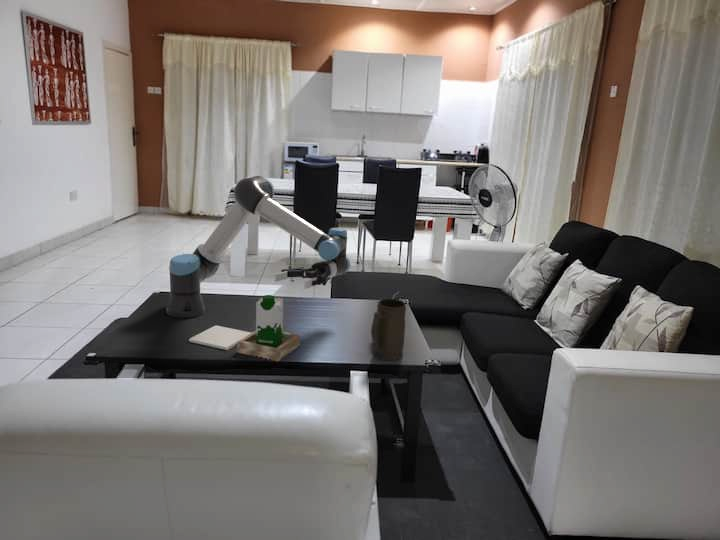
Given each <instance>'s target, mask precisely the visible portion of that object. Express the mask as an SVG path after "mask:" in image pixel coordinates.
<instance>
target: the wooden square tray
mask: <svg viewBox="0 0 720 540" xmlns="http://www.w3.org/2000/svg"><path fill="white" fill-rule="evenodd" d="M250 333H251V334H249V335H247V336H246V337H244V338H242V339H241V340H239V341H237V345H236V353H239V354H243V355H248V356H251V355H252V357H256V356H258V357H257V358H260V357H263V358H262V359H265V358H267V359H266V360H269V359H271V360H270V361H273V362H274V361H275V362H279V361H281V360H283V358H285V357H286V356H287V355H288V353H289V354H290V353H291V352H292V350H293V351H294V350H296V349H297V347H299V346H300V342H301V341H300V340H301V335H300V334H298V333H291V332H286V331H283V330H282V341H281V345H280V346H279V347H277V348H274V347H269V346H265V345H260V344H256V330H254V331H251V332H250Z"/></svg>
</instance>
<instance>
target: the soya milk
mask: <svg viewBox="0 0 720 540" xmlns="http://www.w3.org/2000/svg"><path fill="white" fill-rule="evenodd" d="M255 304H256V306H255V307H256V309H255V311H256V312H255V314H256V315H255V317H256V318H255V331H256V344H260V345H265V346H269V347H274V348H277V347H279V346H280V345H282V343H281V341H282V331H283V328H284V327H283V325H284V324H283V323H284V322H283V321H284V318H283V317H284V298H279V297H275V296H274V295H272V294H271V295H270V294H267V295H263V296H261V298H259V299H258V301H256V303H255Z"/></svg>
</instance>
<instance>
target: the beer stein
mask: <svg viewBox="0 0 720 540" xmlns="http://www.w3.org/2000/svg"><path fill="white" fill-rule="evenodd" d="M377 309H378V312H377V311H375V312H374V313H373V315H374V316H373V321H372V323H371V329H370V333H371V335H370V336H371V338H372V339H371V340H372V345H373V347H372V348H371V353H372V355H373V356H374V357H375V358H376V357H377V359H379V360H381V359H383V360H382V361H387V360H394V361H398V360H397V359H399V360H400V358H401V359H402V358H403V357H402V356H404V351H403V349H404V345H405V334H406V333H405V331H406V313H405V311H406V312H407V305H406V302H404V301H402V300H399V299H395V298H393V299H392V298H386V299H381V300H379V301H378V303H377V306H376V310H377Z"/></svg>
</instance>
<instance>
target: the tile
mask: <svg viewBox="0 0 720 540" xmlns="http://www.w3.org/2000/svg"><path fill="white" fill-rule="evenodd" d="M251 333H252V332H249V331H245V330H240V329H235V328H231V327H225V326H220V325H217V324H216V325H214V326H212V327H210V328H208V329H205V330H204V331H202V332H200V333H198V334H196V335H194V336H192V337H190V338H189V339H188V342H189V343H194V344H199V345H203V346H206V347H211V348H215V349H221V350H225V351H228V350H230V349H232V348H233V347H235V346H237V345H236V344H237V341H239V340H241V339H242V338H244V337H246V336H247V335H249V334H251Z"/></svg>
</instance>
